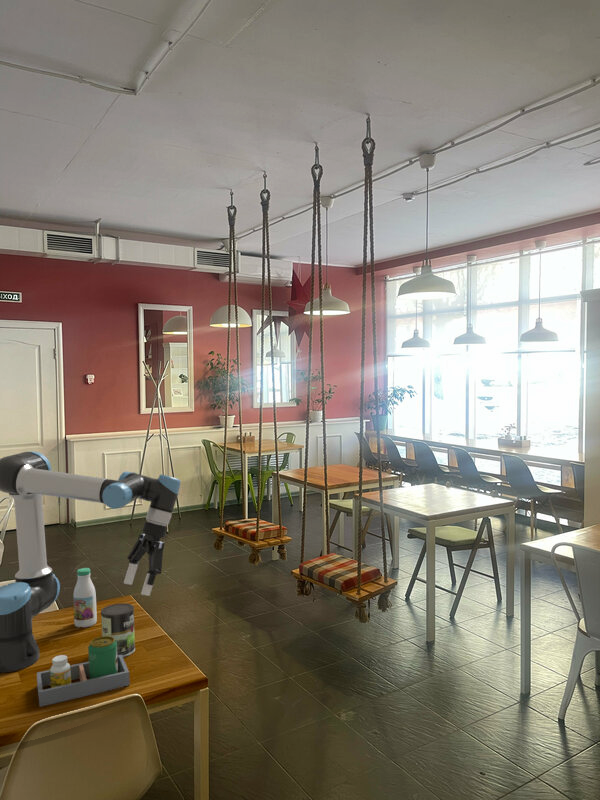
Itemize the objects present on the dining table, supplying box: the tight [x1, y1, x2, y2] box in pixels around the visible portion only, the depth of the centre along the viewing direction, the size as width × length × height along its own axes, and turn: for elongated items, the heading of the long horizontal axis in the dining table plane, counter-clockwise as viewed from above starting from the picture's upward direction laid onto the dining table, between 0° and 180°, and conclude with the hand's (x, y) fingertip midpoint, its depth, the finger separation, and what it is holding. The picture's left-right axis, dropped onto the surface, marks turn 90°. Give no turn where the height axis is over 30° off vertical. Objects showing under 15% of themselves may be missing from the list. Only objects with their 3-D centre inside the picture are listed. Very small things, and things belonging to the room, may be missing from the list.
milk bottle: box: [72, 567, 98, 628], centre depth 222 cm, size 8×8×20 cm
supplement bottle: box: [49, 654, 72, 688], centre depth 174 cm, size 5×5×10 cm
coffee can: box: [100, 603, 136, 658], centre depth 199 cm, size 10×10×14 cm
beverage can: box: [87, 635, 119, 680], centre depth 180 cm, size 8×8×12 cm
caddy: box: [36, 655, 131, 708], centre depth 177 cm, size 12×24×4 cm, turn 116°
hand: (136, 589), depth 193 cm, fingers open, 13 cm apart
